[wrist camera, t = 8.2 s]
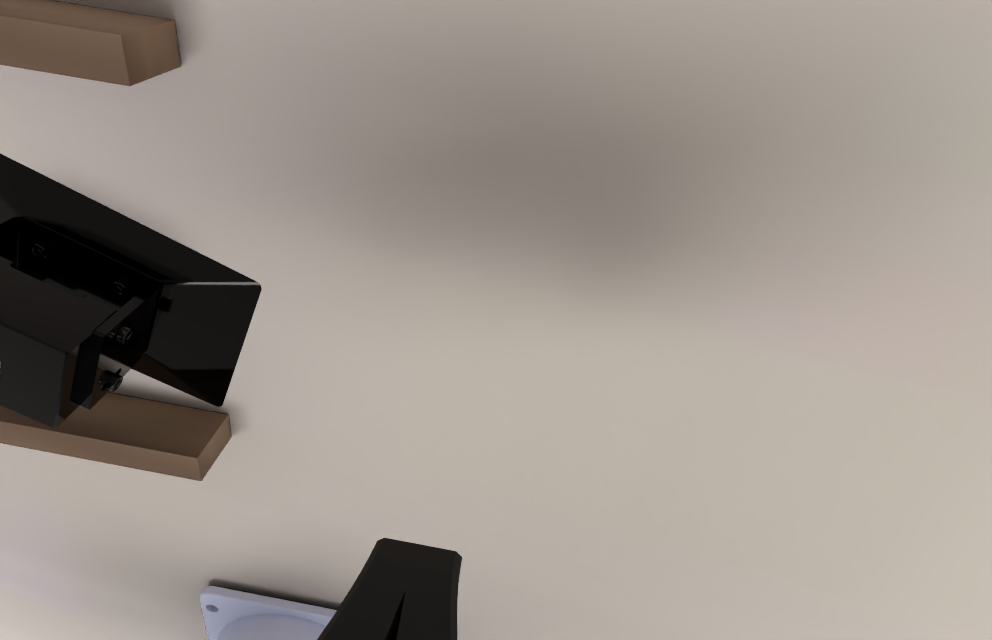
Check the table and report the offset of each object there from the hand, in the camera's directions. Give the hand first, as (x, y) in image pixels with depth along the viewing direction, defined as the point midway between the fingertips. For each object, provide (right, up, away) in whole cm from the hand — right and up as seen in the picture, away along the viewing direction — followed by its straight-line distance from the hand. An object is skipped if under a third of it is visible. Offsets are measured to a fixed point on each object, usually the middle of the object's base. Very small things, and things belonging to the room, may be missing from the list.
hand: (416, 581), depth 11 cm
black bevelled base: (-10, +6, +9) cm, 15 cm away
